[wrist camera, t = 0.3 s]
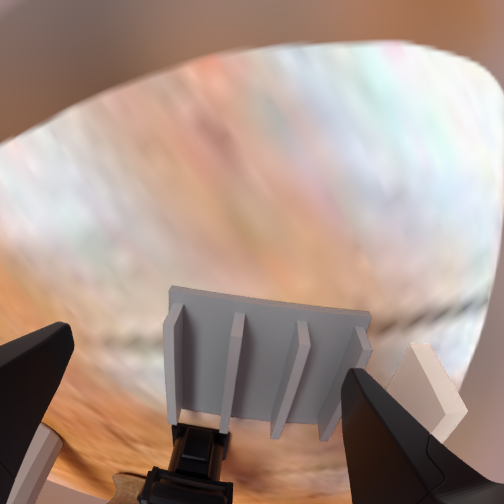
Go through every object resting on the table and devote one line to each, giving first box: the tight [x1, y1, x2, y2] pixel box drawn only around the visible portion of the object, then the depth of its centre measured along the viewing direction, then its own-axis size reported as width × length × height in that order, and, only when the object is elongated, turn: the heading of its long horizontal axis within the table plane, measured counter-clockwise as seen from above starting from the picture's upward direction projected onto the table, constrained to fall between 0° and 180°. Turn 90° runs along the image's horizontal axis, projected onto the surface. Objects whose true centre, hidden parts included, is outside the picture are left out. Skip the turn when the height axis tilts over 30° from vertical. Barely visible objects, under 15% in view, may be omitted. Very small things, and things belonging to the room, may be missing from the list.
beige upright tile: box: [386, 343, 468, 443], centre depth 23 cm, size 8×2×9 cm, turn 172°
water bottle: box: [6, 423, 63, 504], centre depth 25 cm, size 9×8×25 cm
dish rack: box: [163, 286, 373, 441], centre depth 25 cm, size 14×16×4 cm
